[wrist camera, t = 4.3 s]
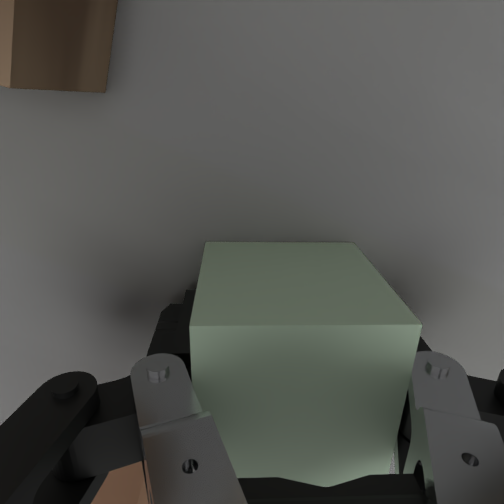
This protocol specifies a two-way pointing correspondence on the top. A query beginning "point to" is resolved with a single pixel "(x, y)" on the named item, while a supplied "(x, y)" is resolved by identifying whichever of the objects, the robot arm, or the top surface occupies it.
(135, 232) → the top surface
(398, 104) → the top surface
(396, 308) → the sage block
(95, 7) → the walnut block
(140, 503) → the terracotta block
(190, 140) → the top surface
